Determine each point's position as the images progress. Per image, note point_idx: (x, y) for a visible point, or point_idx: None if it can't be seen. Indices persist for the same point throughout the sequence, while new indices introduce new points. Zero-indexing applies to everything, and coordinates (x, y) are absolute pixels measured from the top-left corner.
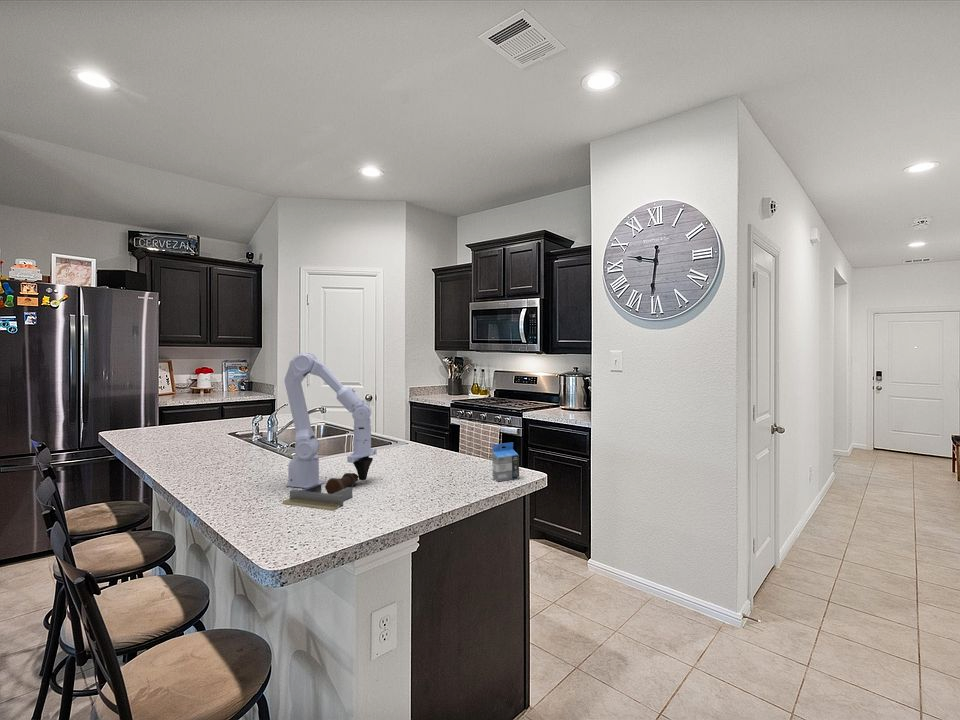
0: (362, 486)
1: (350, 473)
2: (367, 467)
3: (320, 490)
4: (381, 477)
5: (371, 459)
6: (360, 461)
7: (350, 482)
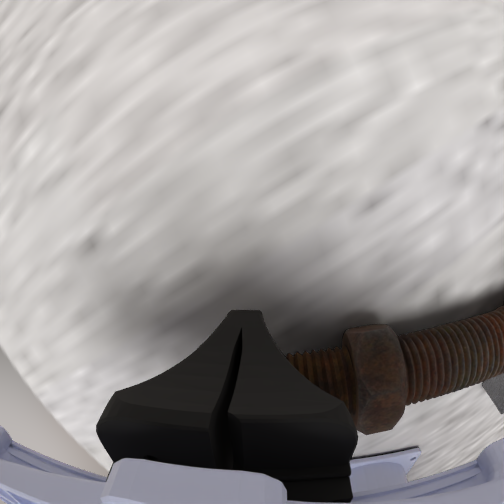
0: (333, 266)
1: (377, 407)
2: (227, 365)
3: (502, 377)
4: (62, 273)
5: (155, 411)
6: (347, 463)
7: (410, 337)
